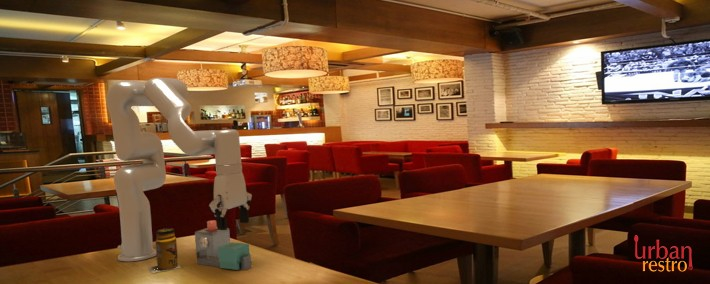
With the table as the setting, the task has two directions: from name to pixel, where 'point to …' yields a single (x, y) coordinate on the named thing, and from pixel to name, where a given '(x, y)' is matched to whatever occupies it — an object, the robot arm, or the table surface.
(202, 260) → the rail
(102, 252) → the table surface
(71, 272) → the table surface
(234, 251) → the carriage
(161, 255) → the condiment
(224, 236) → the frame
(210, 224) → the cylinder
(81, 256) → the table surface
